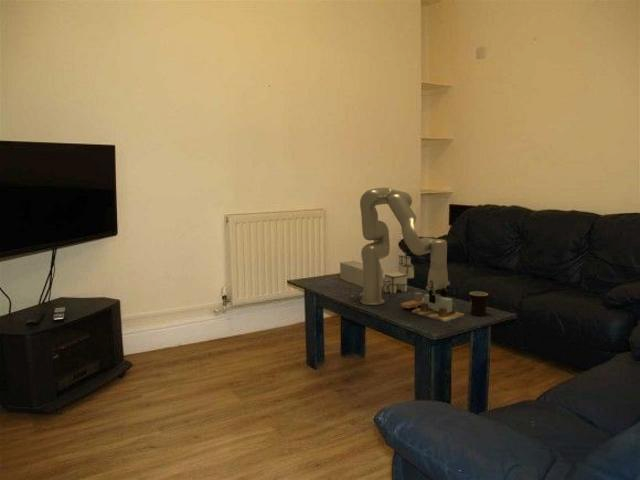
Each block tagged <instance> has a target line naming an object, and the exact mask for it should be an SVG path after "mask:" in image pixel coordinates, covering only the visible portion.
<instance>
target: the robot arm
mask: <svg viewBox="0 0 640 480" xmlns="http://www.w3.org/2000/svg"><path fill="white" fill-rule="evenodd" d="M412 204H413V198H412V196H411V195H410V194H409V193H408V192H405V191H401V190H397V189H394V188H391V187H378V188H371V189H369V190H366V191H365V192H363V194H362V195H361V197H360V199H359V208H360V214H361V216H360V217H361V227H362V228H361V230H362V236H363V238H364V240H367V241H372V242H370V243H366V244H365V245H363V246H362V248H361V253H360V256H361V261H362V263H363V287H362V288H363V291H361V293H359V296H360V297H361V299H360V303H361V304H362V305H364V306H365V305H366V306H380V305H384V304H385V303H386V301H385V299H384V298H382V287H381V269H382V265H381V262H380V260H384V259H385V258H387V257H388V256H389V255H390V252H391V247H390V232H389V231H390V230H389V226H387V224H386V222H384V221H382V220H379V214H378V210H377V208H376V206H382V205H388V207H389V209H390V210H391V212H392V213H393V215H394V216H395V218H396V220H397V221H398V223H399V225H400V227H401V233H402V238H403V241H404V243H405V244H406V246H407V247H408V249H409V251H410V252H411V253H412V254H414V255H415V256H422V255H425V254H426V255H427V254H430V265H429V266H430V268H429V269H428V274H427V275H428V276H427V285H426V287H425V290H426V292H427V294H429V302H430V303H435V295H436V291H438V290H441V291H440V296H442V297H446V298H448V297H447V296H448V294H447V293H448V291H449V288H450V285H451V281H449V275H448V274H449V273H448V267H447V265H448V264H447V262H448V261H447V260H448V258H447V257H448V256H447V255H448V242H447V240H445V239H438V238H437V239H435V238H432V237H422V238H420V236H419V235H418V234H417V231H416V229H415V223H416V221H417V216H416V214H415V213H414V212H413V209H412V208H411V206H412Z"/></svg>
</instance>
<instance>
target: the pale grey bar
mask: <svg viewBox="0 0 640 480" xmlns="http://www.w3.org/2000/svg"><path fill="white" fill-rule="evenodd" d="M434 295H435V303H430V302H429V294H428V293H426V294H423V298H424V303H425V304H428V308H430V309H434V310H438V311H439V308H444V309H446V313H448V312H451V311H452V306H453V298H450V297H447V298H446V297H442V296H441V295H436V294H434Z"/></svg>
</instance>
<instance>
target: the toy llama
mask: <svg viewBox="0 0 640 480" xmlns="http://www.w3.org/2000/svg"><path fill="white" fill-rule="evenodd" d="M411 260H412V259H411V256H408V255H405V254H404V255H403V254H400V255H398V272H393V273H387V274H386V273H385V274H384V279H383V286H384V292H385V293H389V294H390V295H397V292H399V291H400V292H401V293H403V294H404V293H407V292H408V280H409V279H414V278H415V265H414V264H412V263H411V262H412V261H411Z"/></svg>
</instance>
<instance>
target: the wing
mask: <svg viewBox="0 0 640 480" xmlns="http://www.w3.org/2000/svg"><path fill="white" fill-rule="evenodd" d="M421 303H424V294H423V293H422V292H419V291H418V292H414V293H413V300H409V301H405V302H402V303H400V307H403V308H406V309H411V308H412V309H414V310H415V309H419V306H421Z"/></svg>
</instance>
